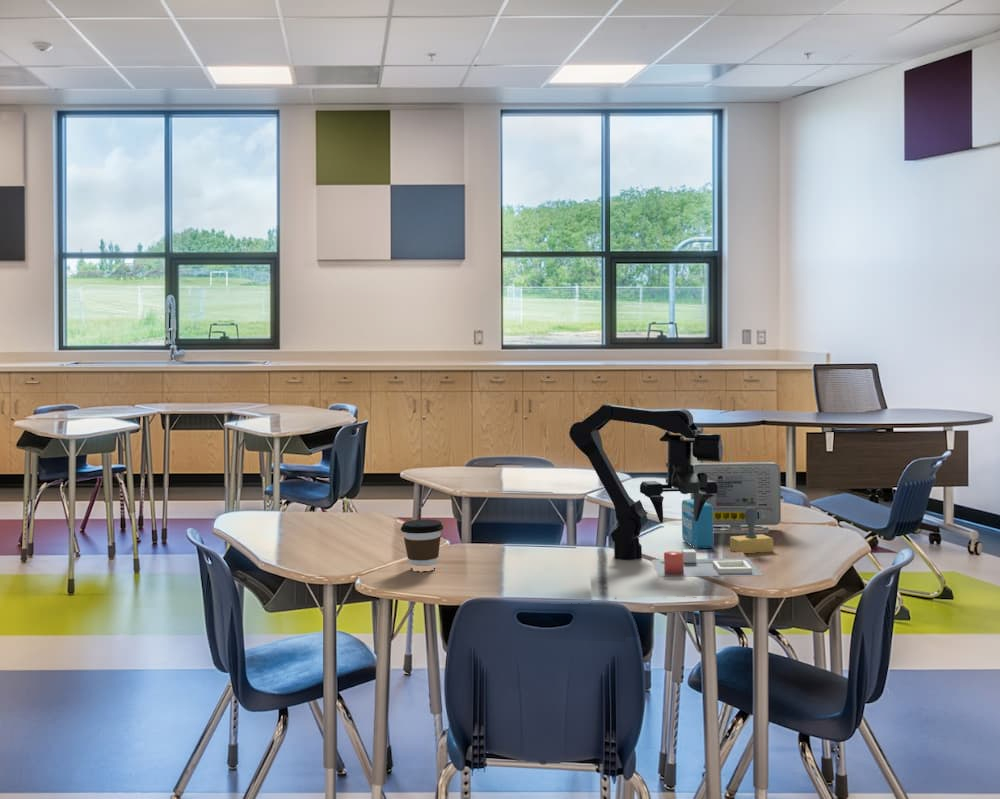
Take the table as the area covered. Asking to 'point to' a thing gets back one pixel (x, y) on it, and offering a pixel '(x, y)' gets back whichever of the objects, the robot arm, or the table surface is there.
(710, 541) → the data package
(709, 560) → the breaker panel
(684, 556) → the block
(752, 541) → the rubber stamp
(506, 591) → the table surface
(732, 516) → the network device
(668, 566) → the cap
